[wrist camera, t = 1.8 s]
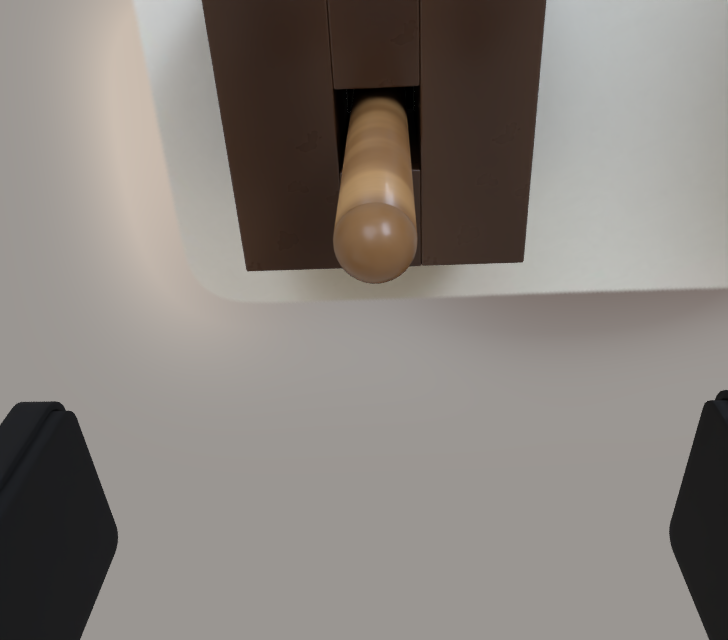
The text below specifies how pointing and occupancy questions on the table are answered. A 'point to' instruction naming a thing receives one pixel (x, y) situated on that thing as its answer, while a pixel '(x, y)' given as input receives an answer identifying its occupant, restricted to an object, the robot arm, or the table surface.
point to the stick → (376, 189)
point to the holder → (331, 118)
